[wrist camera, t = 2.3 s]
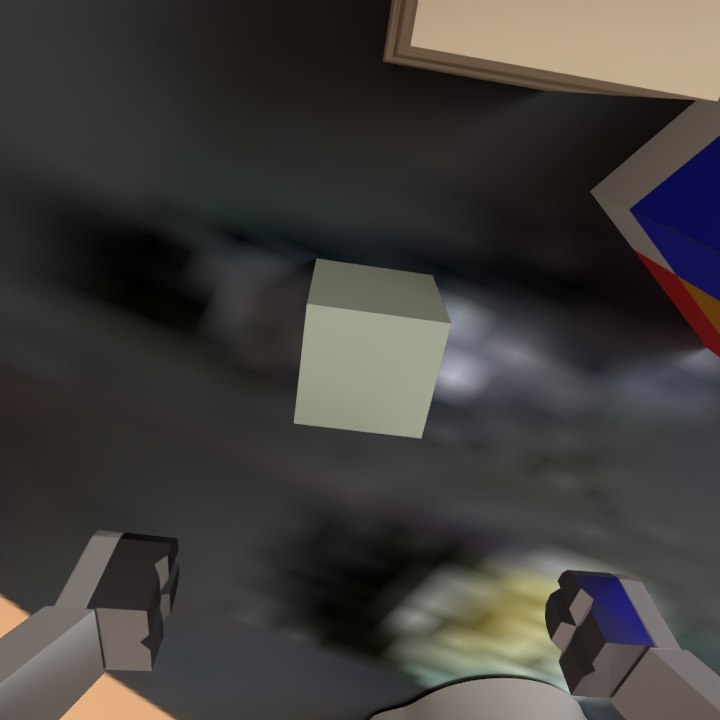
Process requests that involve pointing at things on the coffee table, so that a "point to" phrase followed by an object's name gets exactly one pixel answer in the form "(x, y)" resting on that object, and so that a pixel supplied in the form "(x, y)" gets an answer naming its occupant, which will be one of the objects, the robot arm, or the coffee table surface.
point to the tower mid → (573, 43)
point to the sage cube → (370, 349)
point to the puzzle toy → (676, 213)
